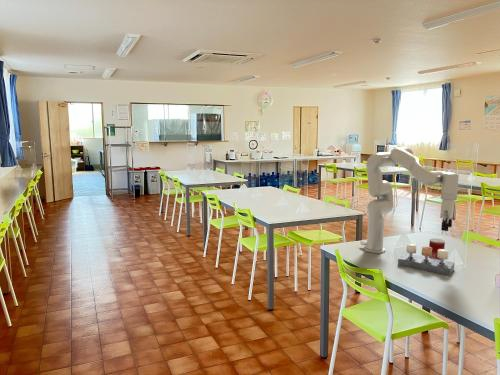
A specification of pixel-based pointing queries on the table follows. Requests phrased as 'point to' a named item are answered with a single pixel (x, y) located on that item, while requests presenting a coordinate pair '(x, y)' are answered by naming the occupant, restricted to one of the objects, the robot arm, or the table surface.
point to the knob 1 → (411, 249)
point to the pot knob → (426, 252)
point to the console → (426, 264)
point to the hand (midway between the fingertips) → (446, 228)
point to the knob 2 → (442, 255)
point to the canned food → (436, 247)
